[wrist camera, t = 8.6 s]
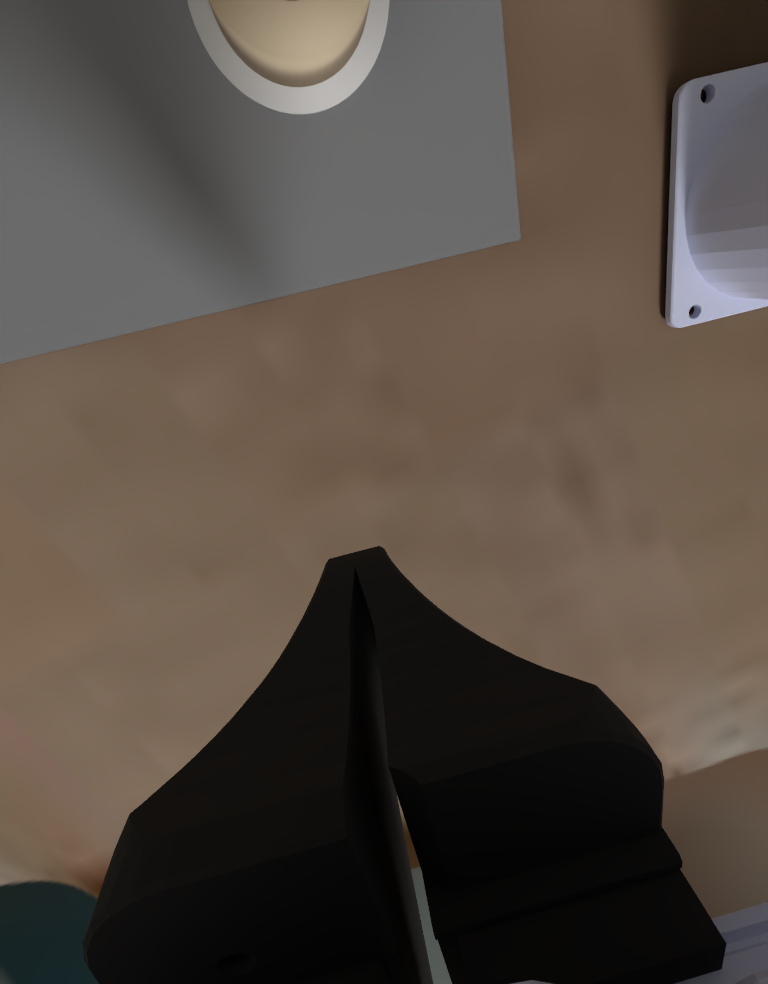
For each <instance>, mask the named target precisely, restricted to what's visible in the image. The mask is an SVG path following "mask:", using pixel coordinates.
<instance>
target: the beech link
mask: <svg viewBox="0 0 768 984" xmlns="http://www.w3.org/2000/svg"><path fill="white" fill-rule="evenodd" d="M209 3H210V6H211V8H212V11H213V14H214V16H215V19H216V21H217V24H218V26H219V28H220V30H221V32H222V34H223V36H224V37H225V39H226V41H227V42H228V44H229V45H230V47H231V48H232V49H233V51H234V52H235V53H236V55H237V56H238V57H239V58H240V59H241V60H242V61H243V62H244V63H245V64H246V65H247V66H248V67H249V68H251V69H252V70H253V71H254V72H256V73H257V74H259V75H260V76H262V77H263V78H265V79H267V80H269V81H271V82H274V83H277V84H280V85H283V86H289V87H307V86H313V85H316V84H319V83H322V82H324V81H325V80H327V79H329V78H331V77H332V76H334V75H335V74H336V73H337V72H339V71H340V70H341V69H342V68H343V67H344V66H345V65H346V63H347V62H348V61H349V59H350V58H351V57H352V55H353V53H354V52H355V50H356V48H357V46H358V44H359V42H360V39H361V36H362V34H363V30H364V27H365V23H366V19H367V14H368V9H369V4H370V0H209Z"/></svg>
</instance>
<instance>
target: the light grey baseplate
mask: <svg viewBox="0 0 768 984" xmlns="http://www.w3.org/2000/svg"><path fill="white" fill-rule="evenodd" d="M517 240H521V237H520V225H519V213H518V201H517V189H516V177H515V164H514V152H513V140H512V128H511V116H510V104H509V92H508V80H507V68H506V55H505V43H504V31H503V19H502V7H501V0H370V4H369V9H368V14H367V19H366V23H365V27H364V30H363V34H362V36H361V39H360V42H359V44H358V46H357V48H356V50H355V52H354V53H353V55H352V57H351V58H350V59H349V61H348V62H347V63H346V65H345V66H344V67H343V68H342V69H341V70H340V71H339V72H337V73H336V74H335V75H334V76H332V77H331V78H329V79H327V80H325V81H324V82H322V83H319V84H316V85H313V86H307V87H289V86H283V85H280V84H277V83H274V82H271V81H269V80H267V79H265V78H263V77H262V76H260V75H259V74H257V73H256V72H254V71H253V70H252V69H251V68H249V67H248V66H247V65H246V64H245V63H244V62H243V61H242V60H241V59H240V58H239V57H238V56H237V55H236V53H235V52H234V51H233V49H232V48H231V47H230V45H229V44H228V42H227V41H226V39H225V37H224V36H223V34H222V32H221V30H220V28H219V26H218V24H217V21H216V19H215V16H214V14H213V11H212V8H211V6H210V3H209V0H0V364H2V363H6V362H10V361H15V360H19V359H23V358H27V357H31V356H35V355H40V354H44V353H48V352H52V351H56V350H61V349H65V348H69V347H73V346H77V345H82V344H86V343H90V342H94V341H98V340H102V339H107V338H111V337H115V336H119V335H123V334H128V333H132V332H136V331H140V330H144V329H149V328H153V327H157V326H161V325H165V324H169V323H174V322H178V321H182V320H186V319H190V318H195V317H199V316H203V315H207V314H211V313H216V312H220V311H224V310H228V309H232V308H236V307H241V306H245V305H249V304H253V303H257V302H262V301H266V300H270V299H274V298H278V297H282V296H287V295H291V294H295V293H299V292H303V291H308V290H312V289H316V288H320V287H324V286H329V285H333V284H337V283H341V282H345V281H349V280H354V279H358V278H362V277H366V276H370V275H375V274H379V273H383V272H387V271H391V270H396V269H400V268H404V267H408V266H412V265H416V264H421V263H425V262H429V261H433V260H437V259H442V258H446V257H450V256H454V255H458V254H462V253H467V252H471V251H475V250H479V249H483V248H488V247H492V246H496V245H500V244H504V243H509V242H513V241H517Z"/></svg>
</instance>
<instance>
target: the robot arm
mask: <svg viewBox="0 0 768 984" xmlns="http://www.w3.org/2000/svg"><path fill="white" fill-rule="evenodd" d="M702 89H704V90H705V91H706V96H707V97H706V101H705V103H703V102H702V101H701V97H700V95H701V91H702ZM692 306H694V312H693V314H692V315H691V316H690V317H689V310H690V308H691V307H692ZM766 306H768V62H766V63H761V64H757V65H753V66H748V67H744V68H739V69H735V70H731V71H726V72H722V73H718V74H713V75H709V76H705V77H700V78H696V79H693V80H691V81H688V82H687V83H685V84H683V85H681V86H680V88H679V89H678V90H677V91H676V93H675V95H674V98H673V104H672V133H671V163H670V192H669V221H668V251H667V280H666V309H665V319H666V323H667V324H668V325H669V326H671V327H676V328H682V327H686V326H690V325H694V324H698V323H702V322H706V321H710V320H714V319H718V318H722V317H726V316H730V315H734V314H738V313H742V312H746V311H750V310H754V309H758V308H762V307H766ZM663 789H664V776H663V770H662V763H661V762H660V760H659V759H658V757H657V756H656V754H655V753H654V751H653V750H652V748H651V747H650V745H649V744H648V742H647V741H646V739H645V738H644V737H643V735H642V734H641V733H640V732H639V730H638V729H637V728H636V727H635V725H634V724H633V723H632V722H631V721H630V720H629V719H628V718H627V717H626V716H625V715H624V713H623V712H622V711H621V710H620V709H619V708H618V707H617V706H616V705H615V704H614V703H613V702H612V701H611V700H610V699H609V698H608V697H607V696H606V695H605V694H604V693H603V692H602V691H601V690H600V689H599V688H598V687H597V686H596V685H593V684H591V683H588V682H585V681H582V680H579V679H576V678H573V677H570V676H567V675H564V674H561V673H558V672H555V671H552V670H549V669H546V668H544V667H541V666H539V665H536V664H534V663H532V662H529V661H527V660H525V659H522V658H520V657H518V656H515V655H513V654H512V653H510V652H508V651H506V650H504V649H502V648H500V647H498V646H496V645H494V644H492V643H490V642H488V641H487V640H485V639H483V638H481V637H480V636H478V635H477V634H475V633H473V632H472V631H470V630H469V629H467V628H465V627H464V626H462V625H461V624H460V623H458V622H457V621H455V620H454V619H452V618H451V617H450V616H448V615H447V614H446V613H444V612H443V611H442V610H440V609H439V608H438V607H437V606H436V605H434V604H433V603H432V602H431V601H430V600H428V599H427V598H426V597H425V596H424V595H423V594H422V593H421V592H420V591H419V590H417V589H416V587H415V586H414V585H413V584H412V583H411V582H410V581H409V580H408V579H407V578H406V577H405V576H404V575H403V574H402V573H401V572H400V571H399V569H398V568H397V567H396V566H395V565H394V563H393V562H392V561H391V559H390V558H389V556H388V555H387V553H386V551H385V549H384V548H382V547H380V546H377V547H373V548H370V549H366V550H362V551H358V552H354V553H350V554H347V555H343V556H339V557H335V558H331V559H329V560H328V562H327V563H326V565H325V568H324V570H323V573H322V576H321V578H320V581H319V583H318V586H317V588H316V590H315V593H314V595H313V597H312V599H311V601H310V603H309V605H308V607H307V610H306V612H305V614H304V616H303V618H302V620H301V621H300V623H299V625H298V627H297V629H296V630H295V632H294V634H293V636H292V637H291V639H290V641H289V643H288V645H287V646H286V648H285V649H284V651H283V653H282V654H281V656H280V657H279V659H278V660H277V662H276V663H275V665H274V666H273V668H272V669H271V671H270V672H269V673H268V675H267V676H266V678H265V679H264V680H263V682H262V683H261V684H260V685H259V687H258V688H257V689H256V690H255V691H254V693H253V694H252V695H251V696H250V697H249V699H248V700H247V701H246V702H245V703H244V705H243V706H242V707H241V708H240V709H239V711H238V712H237V713H236V714H235V715H234V717H233V718H232V719H231V720H230V721H229V722H228V723H227V724H226V725H225V726H224V727H223V728H222V729H221V731H220V732H219V733H218V734H217V735H216V736H215V737H214V738H213V739H212V740H211V741H210V742H209V743H208V744H207V745H206V746H205V747H204V748H203V749H202V750H201V751H200V752H199V753H198V754H197V755H196V756H195V757H194V758H193V759H192V760H191V761H190V762H188V763H187V764H186V765H185V766H184V767H183V768H182V769H181V770H180V771H179V772H178V773H176V774H175V775H174V776H173V777H172V778H171V779H170V780H169V781H167V782H166V783H165V784H164V785H163V786H162V787H161V788H159V789H158V790H157V791H156V792H155V793H154V794H153V795H151V796H150V797H149V798H148V799H147V800H146V801H145V802H144V803H142V804H141V805H140V806H139V807H138V808H136V809H135V810H134V811H133V812H132V813H130V814H129V817H128V819H127V822H126V824H125V826H124V829H123V831H122V834H121V836H120V838H119V841H118V843H117V845H116V848H115V850H114V853H113V856H112V859H111V862H110V865H109V868H108V870H107V873H106V876H105V879H104V882H103V885H102V888H101V891H100V894H99V896H98V899H97V902H96V905H95V908H94V911H93V914H92V917H91V920H90V922H89V925H88V928H87V931H86V934H85V937H84V940H83V953H84V960H85V962H86V964H87V966H88V968H89V969H90V971H91V972H92V974H93V975H94V977H95V978H96V979H97V981H98V982H99V983H100V984H433V980H432V975H431V970H430V965H429V960H428V955H427V951H426V945H425V940H424V935H423V930H422V925H421V920H420V914H419V909H418V904H417V899H416V894H415V889H414V884H413V878H412V873H411V868H410V863H409V857H408V852H407V847H406V841H405V836H404V831H403V825H402V820H401V815H400V809H399V804H398V799H399V802H400V805H401V808H402V811H403V814H404V817H405V820H406V823H407V826H408V830H409V833H410V836H411V839H412V842H413V845H414V848H415V851H416V854H417V858H418V861H419V864H420V867H421V870H422V874H423V879H424V884H425V890H426V896H427V901H428V906H429V911H430V917H431V922H432V927H433V932H434V936H435V939H436V940H438V942H439V945H440V948H441V951H442V954H443V957H444V960H445V963H446V966H447V969H448V972H449V975H450V978H451V981H452V984H768V902H766V903H763V904H759V905H756V906H753V907H749V908H746V909H743V910H739V911H736V912H733V913H729V914H726V915H722V916H719V917H716V918H712V919H711V918H710V916H709V915H708V913H707V911H706V910H705V908H704V907H703V905H702V903H701V902H700V900H699V899H698V897H697V895H696V894H695V892H694V891H693V889H692V888H691V886H690V884H689V883H688V881H687V880H686V878H685V877H684V875H683V873H682V872H681V870H680V868H682V860H681V857H680V855H679V853H678V851H677V850H676V848H675V846H674V845H673V843H672V842H671V840H670V839H669V837H668V836H667V834H666V832H665V831H664V829H663V828H662V809H663V808H662V807H663ZM396 792H397V793H396ZM397 795H398V799H397Z"/></svg>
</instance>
